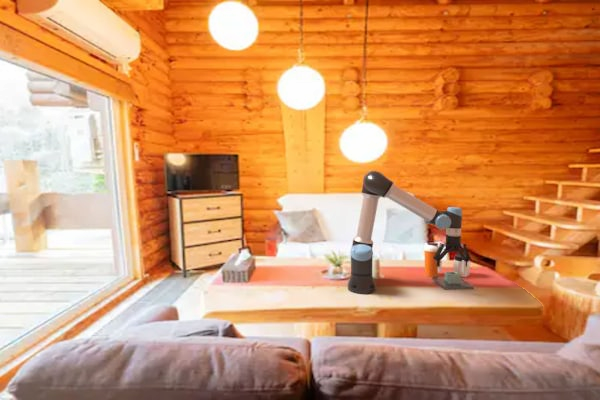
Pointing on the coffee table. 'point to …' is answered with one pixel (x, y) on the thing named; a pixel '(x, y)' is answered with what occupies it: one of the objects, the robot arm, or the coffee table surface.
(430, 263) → the shaker bottle
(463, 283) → the hub plate
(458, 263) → the jar
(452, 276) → the teal open box
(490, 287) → the coffee table surface
